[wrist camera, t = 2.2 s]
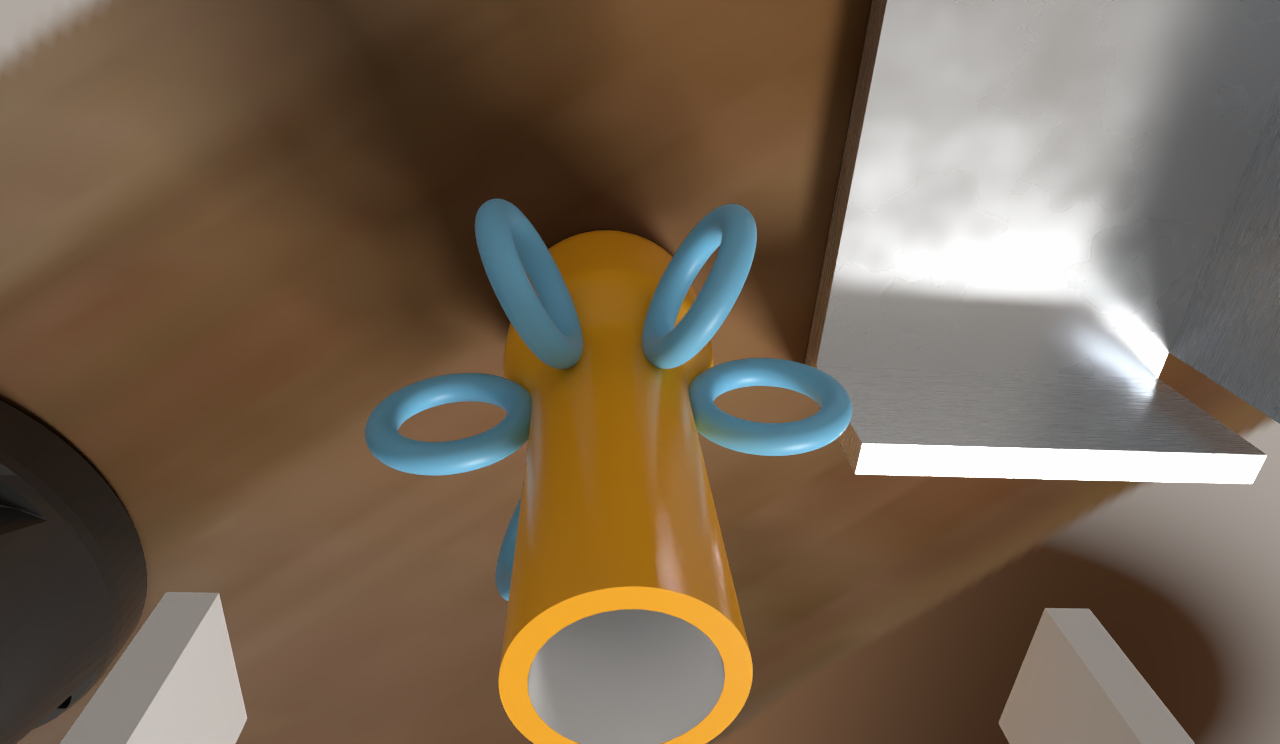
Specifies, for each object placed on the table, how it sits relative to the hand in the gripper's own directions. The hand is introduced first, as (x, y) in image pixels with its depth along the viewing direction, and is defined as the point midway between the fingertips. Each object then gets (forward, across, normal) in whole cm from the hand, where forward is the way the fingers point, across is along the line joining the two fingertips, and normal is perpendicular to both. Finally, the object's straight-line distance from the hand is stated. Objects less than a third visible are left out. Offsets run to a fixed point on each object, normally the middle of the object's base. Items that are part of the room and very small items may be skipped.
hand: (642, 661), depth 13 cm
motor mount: (+15, +15, +6) cm, 22 cm away
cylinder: (+15, 0, 0) cm, 15 cm away
